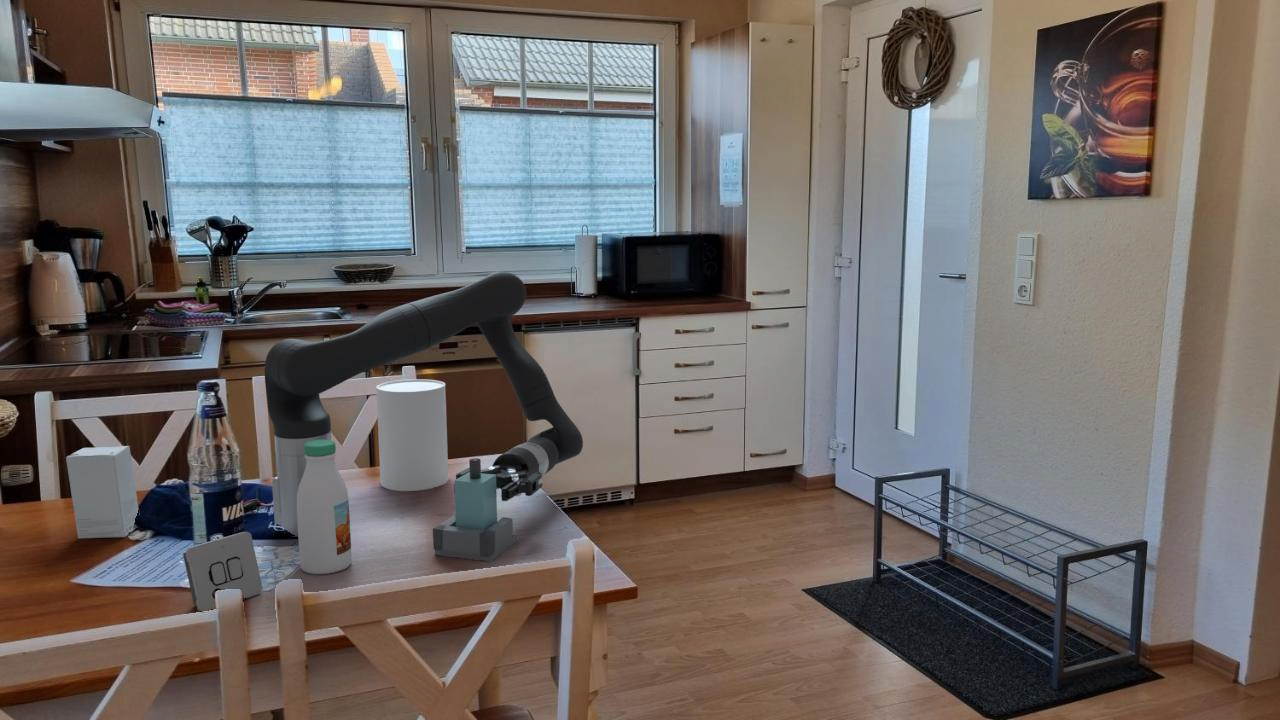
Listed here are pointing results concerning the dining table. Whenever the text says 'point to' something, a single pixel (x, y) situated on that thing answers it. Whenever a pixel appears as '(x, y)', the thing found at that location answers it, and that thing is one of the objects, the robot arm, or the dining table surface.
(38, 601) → the dining table surface
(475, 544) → the socket
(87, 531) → the skincare box
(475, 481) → the plug
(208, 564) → the electrical switch
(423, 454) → the canister
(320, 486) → the milk bottle
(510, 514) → the dining table surface
